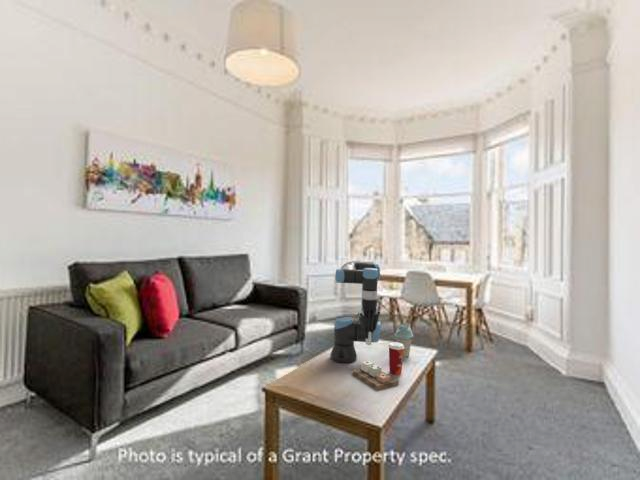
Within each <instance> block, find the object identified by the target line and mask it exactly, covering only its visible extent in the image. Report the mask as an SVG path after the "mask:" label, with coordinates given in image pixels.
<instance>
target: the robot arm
mask: <svg viewBox="0 0 640 480" xmlns="http://www.w3.org/2000/svg"><path fill="white" fill-rule="evenodd" d="M380 267H381V266H380V265H379V263H378V262H376V261H360V260H359V261H358V260H354V261H353V260H352V261H349V262H346V263H344V264H342V266H341V267H340V268H337V269H336V270H335V282H336V283H338V284H356V285H357V284H359V285H361V305H360V307H361V308H360V309H361V311H360V312H357V315H358V320H356V319H355V317H351V316H345V317H344V316H342V317H339V318H337V319H335V321H334V324H333V325H334V326H333V346H332V347H331V348H332V349H331V352H330V360H331V361H333V362H335V363H341V364H350V363H354V362H356V361H357V356H358V355H357V352H356V351H357V350H356V348H355V342H358V343H359V342H360V343H365V345H367V346H371V345H372V343H379V341H380V335H381V327H382V322H381V321H379V316H380V314H381V311H379V310H378V309H377V306H378V300H377V298H378V282H379V280H380V279H381V268H380Z"/></svg>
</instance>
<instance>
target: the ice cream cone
mask: <svg viewBox="0 0 640 480" xmlns="http://www.w3.org/2000/svg"><path fill="white" fill-rule="evenodd" d="M394 337H395V341H396V342H398V343H402V344H403V345H404V350H403V358H404V357H409V356H410V353H411V352H410V351H411V346H412V341H413V337H414V332H413V330H412V328H411V326H409V322H405V323H401V324H400V326H399V329H397V330H396V331H395V333H394Z"/></svg>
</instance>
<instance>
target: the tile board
mask: <svg viewBox="0 0 640 480" xmlns="http://www.w3.org/2000/svg"><path fill="white" fill-rule="evenodd" d="M382 373H385V374H386V375H388V376H390V382H386V383H381V382H379V381H377V377H373V376H371V375H369V372H367V373H366V372H364V371H363V370H361V368H358V369H353V370H352V375H353V377H356V378H358V379H359V380H360V381H362V382H364V383H365V384H367V385H368V386H370V387H372V388H373V389H375V390H377V391H379V390H383V389H388V388H391V387H394V386H399V383H400V382H399V379H397V378H395V377H393V376H391V375H390V374H388V373H386V372H384V371H382V370H381V374H382Z"/></svg>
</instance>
